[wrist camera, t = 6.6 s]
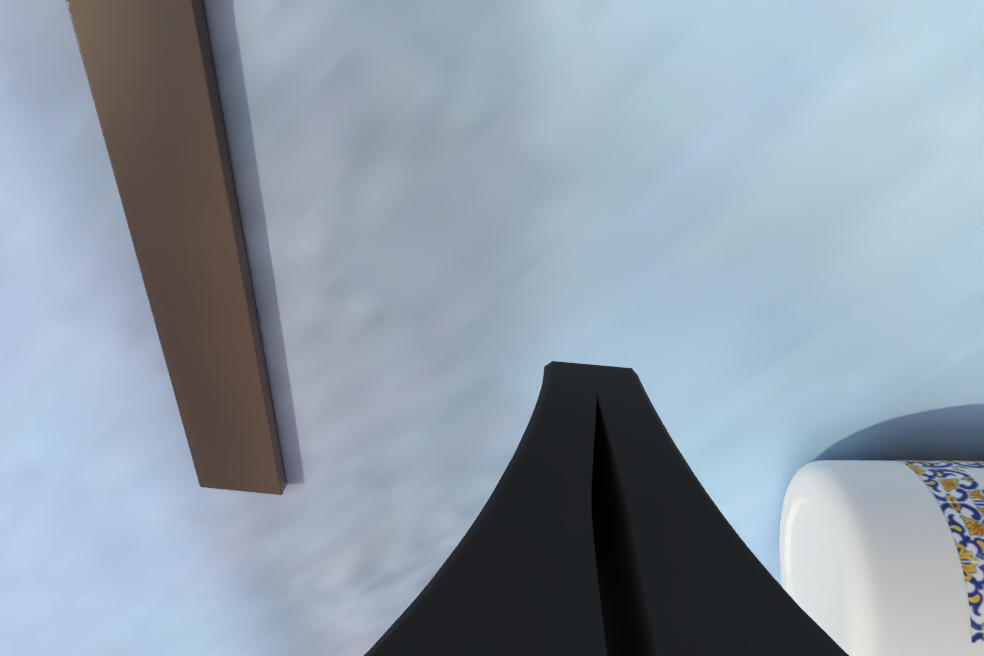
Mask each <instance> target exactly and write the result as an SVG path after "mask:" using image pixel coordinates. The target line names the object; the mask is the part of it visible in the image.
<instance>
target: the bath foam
mask: <svg viewBox="0 0 984 656" xmlns="http://www.w3.org/2000/svg"><path fill="white" fill-rule="evenodd" d="M779 550H780V570H781V581H782V588H783V589H784V590H785V591H786V592H787V593H788V594H789V595H790V596H791V597H792V599H793V600H794V601H795V602H796V603H797V604H798V605H799V606H800V607H801V608H802V609H803V610H804V611H805V612H806V613H807V614H808V615H809V616H810V617H811V618H812V619H813V620H814V621H815V622H816V623H817V624H818V625H819V626H820V627H821V628H822V629H823V630H824V631H825V632H826V633H827V634H828V635H829V636H830V637H831V638H832V639H833V640H834V641H835V642H836V643H837V644H838V645H839V646H840V647H841V648H842V649H843V650H844V651H845V652H846V653H847V654H848V655H849V656H984V461H955V460H819V461H813V462H810V463H808V464H806V465H804V466H802V467H801V468H800V469H799V470H798V471H797V472H796V473H795V474H794V476H793V477H792V479H791V481H790V483H789V485H788V488H787V490H786V494H785V497H784V501H783V506H782V513H781V521H780V540H779Z"/></svg>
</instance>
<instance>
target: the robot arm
mask: <svg viewBox="0 0 984 656" xmlns="http://www.w3.org/2000/svg"><path fill="white" fill-rule="evenodd" d="M364 656H849V655H848V654H847V653H846V652H845V651H844V650H843V649H842V648H841V647H840V646H839V645H838V644H837V643H836V642H835V641H834V640H833V639H832V638H831V637H830V636H829V635H828V634H827V633H826V632H825V631H824V630H823V629H822V628H821V627H820V626H819V625H818V624H817V623H816V622H815V621H814V620H813V619H812V618H811V617H810V616H809V615H808V614H807V613H806V612H805V611H804V610H803V609H802V608H801V607H800V606H799V605H798V604H797V603H796V602H795V601H794V600H793V599H792V597H791V596H790V595H789V594H788V593H787V592H786V591H785V590H784V589H783V588H782V586H781V585H780V584H779V583H778V582H777V581H776V580H775V579H774V578H773V576H772V575H771V574H770V573H769V572H768V571H767V569H766V568H765V567H764V566H763V565H762V563H761V562H760V561H759V560H758V559H757V558H756V556H755V555H754V554H753V553H752V552H751V550H750V549H749V548H748V547H747V546H746V544H745V543H744V542H743V541H742V539H741V538H740V537H739V536H738V534H737V533H736V532H735V530H734V529H733V528H732V526H731V525H730V524H729V523H728V521H727V520H726V519H725V517H724V516H723V514H722V513H721V512H720V510H719V509H718V508H717V506H716V505H715V503H714V502H713V501H712V499H711V498H710V497H709V495H708V494H707V492H706V491H705V489H704V488H703V486H702V485H701V484H700V482H699V481H698V479H697V478H696V476H695V475H694V473H693V472H692V470H691V468H690V467H689V465H688V464H687V462H686V461H685V459H684V457H683V456H682V454H681V453H680V451H679V450H678V448H677V447H676V445H675V443H674V442H673V440H672V438H671V437H670V435H669V433H668V432H667V430H666V428H665V426H664V425H663V423H662V421H661V419H660V418H659V416H658V414H657V412H656V411H655V409H654V407H653V405H652V403H651V401H650V399H649V397H648V396H647V394H646V392H645V390H644V388H643V386H642V384H641V382H640V380H639V377H638V375H637V374H636V373H635V372H634V370H633V369H632V368H622V367H611V366H600V365H589V364H577V363H566V362H555V361H552V362H551V363H549V364H548V365H546V366H545V367H544V376H543V383H542V387H541V391H540V394H539V398H538V401H537V403H536V406H535V409H534V411H533V414H532V417H531V419H530V421H529V424H528V426H527V428H526V430H525V432H524V434H523V437H522V439H521V441H520V443H519V445H518V448H517V450H516V452H515V454H514V456H513V458H512V459H511V461H510V463H509V465H508V466H507V468H506V470H505V472H504V474H503V475H502V477H501V479H500V481H499V483H498V484H497V486H496V488H495V490H494V491H493V493H492V495H491V496H490V498H489V500H488V501H487V503H486V504H485V506H484V508H483V509H482V511H481V512H480V514H479V515H478V517H477V518H476V520H475V521H474V523H473V524H472V526H471V527H470V529H469V530H468V532H467V533H466V534H465V536H464V537H463V539H462V540H461V542H460V543H459V544H458V546H457V547H456V548H455V550H454V551H453V552H452V554H451V555H450V556H449V558H448V559H447V560H446V562H445V563H444V564H443V565H442V567H441V568H440V569H439V571H438V572H437V573H436V575H435V576H434V577H433V578H432V580H431V581H430V582H429V583H428V585H427V586H426V587H425V588H424V590H423V591H422V592H421V593H420V594H419V596H418V597H417V598H416V599H415V600H414V601H413V602H412V604H411V605H410V606H409V607H408V608H407V609H406V610H405V611H404V612H403V614H402V615H401V616H400V617H399V618H398V619H397V620H396V621H395V622H394V624H393V625H392V626H391V627H390V628H389V629H388V630H387V631H386V632H385V634H384V635H383V636H382V637H381V638H380V639H379V640H378V641H377V642H376V644H375V645H374V646H373V647H372V648H371V649H370V650H369V651H368V652H367V653H366V654H365V655H364Z"/></svg>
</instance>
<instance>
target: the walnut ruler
mask: <svg viewBox="0 0 984 656" xmlns="http://www.w3.org/2000/svg"><path fill="white" fill-rule="evenodd" d="M66 2H67V5H68V9H69V12H70V16H71V20H72V23H73V27H74V31H75V34H76V38H77V42H78V45H79V49H80V52H81V56H82V60H83V63H84V67H85V71H86V74H87V78H88V81H89V85H90V89H91V92H92V96H93V100H94V103H95V107H96V111H97V114H98V118H99V121H100V125H101V129H102V132H103V136H104V140H105V143H106V147H107V150H108V154H109V158H110V161H111V165H112V169H113V172H114V176H115V179H116V183H117V187H118V190H119V194H120V198H121V201H122V205H123V209H124V212H125V216H126V219H127V223H128V227H129V230H130V234H131V238H132V241H133V245H134V248H135V252H136V256H137V259H138V263H139V267H140V270H141V274H142V278H143V281H144V285H145V288H146V292H147V296H148V299H149V303H150V307H151V310H152V314H153V317H154V321H155V325H156V328H157V332H158V336H159V339H160V343H161V347H162V350H163V354H164V357H165V361H166V365H167V368H168V372H169V376H170V379H171V383H172V386H173V390H174V394H175V397H176V401H177V405H178V408H179V412H180V416H181V419H182V423H183V426H184V430H185V434H186V437H187V441H188V445H189V448H190V452H191V455H192V459H193V463H194V466H195V470H196V474H197V477H198V481H199V485H200V487H206V488H217V489H227V490H237V491H247V492H257V493H267V494H277V495H282V494H283V491H284V489H285V487H286V481H285V475H284V469H283V464H282V458H281V452H280V446H279V441H278V435H277V429H276V423H275V417H274V412H273V406H272V400H271V394H270V389H269V383H268V377H267V371H266V366H265V360H264V354H263V348H262V342H261V337H260V331H259V325H258V319H257V314H256V308H255V302H254V296H253V291H252V285H251V279H250V273H249V267H248V262H247V256H246V250H245V244H244V239H243V233H242V227H241V221H240V216H239V210H238V204H237V198H236V193H235V187H234V181H233V175H232V169H231V164H230V158H229V152H228V146H227V141H226V135H225V129H224V123H223V118H222V112H221V106H220V100H219V94H218V89H217V83H216V77H215V71H214V66H213V60H212V54H211V48H210V43H209V37H208V31H207V25H206V19H205V14H204V8H203V2H202V0H66Z"/></svg>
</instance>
